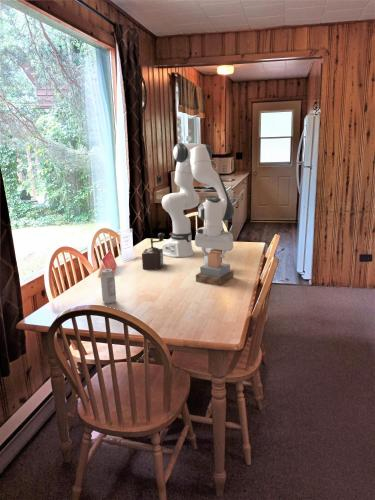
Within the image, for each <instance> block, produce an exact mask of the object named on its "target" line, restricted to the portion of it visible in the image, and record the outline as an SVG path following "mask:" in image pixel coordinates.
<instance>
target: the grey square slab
mask: <svg viewBox="0 0 375 500" xmlns="http://www.w3.org/2000/svg"><path fill="white" fill-rule="evenodd" d="M199 267H200V269H199V270H200V272H199V273H200V274H201V275H206V276H212V277H217V278H220V277H222V276H224V275H225V274H227V273H229V272H230V271H231V264H230V263H225V262H224V263H223V262H222V263H221V265H220V266H219V267H217V268H215V267H208V263H207V264H205V265H204V264H203V265H201V266H199Z"/></svg>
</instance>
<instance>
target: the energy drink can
mask: <svg viewBox="0 0 375 500" xmlns="http://www.w3.org/2000/svg"><path fill="white" fill-rule="evenodd" d="M114 272H115V271H114V270H113V269H112V268H104V269H102V270H101V272H100V286H101V296H102V302H103V303H104V302H105V303H112V304H114V303H116V301H117V294H116V293H117V292H116V291H117V289H116V279H115V273H114ZM105 303H104V304H105Z"/></svg>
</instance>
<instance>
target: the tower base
mask: <svg viewBox="0 0 375 500" xmlns="http://www.w3.org/2000/svg"><path fill="white" fill-rule="evenodd" d="M233 278H234V271H233V270H230V272H229V273H227V274H225V275H224V276H222V277H220V278H217V277H212V276H206V275H201V274H200V272H198V273H197V274H195V282H197V283H201V284H206V285H212V286H218V287H221V286H223V285H224V284H226V283H227V282H229V281H230V280H233Z"/></svg>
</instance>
